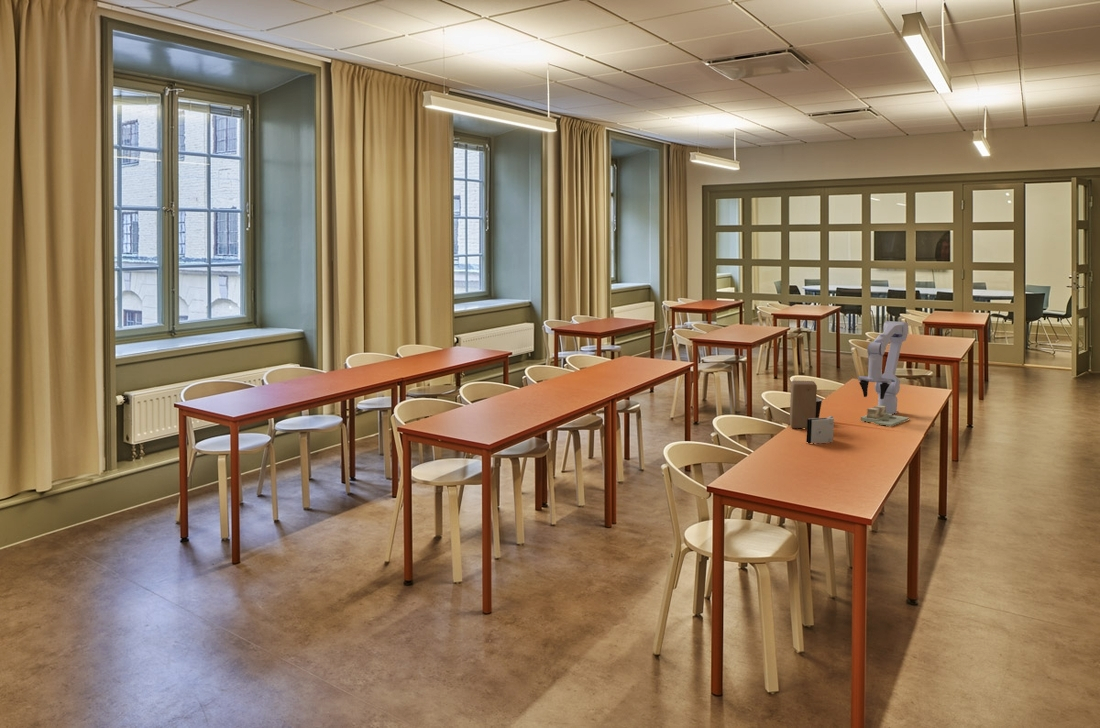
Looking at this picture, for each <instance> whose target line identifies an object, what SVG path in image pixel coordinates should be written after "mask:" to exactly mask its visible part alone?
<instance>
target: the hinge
mask: <svg viewBox="0 0 1100 728" xmlns="http://www.w3.org/2000/svg"><path fill="white" fill-rule="evenodd" d="M834 421H835V418H834V416H833V415H829V416H828V417H819V418H811V419H807V429H806V438H805V439H806V442H808V443H828V442H834V441H833V440H834V427H835V426H834V424H835V422H834ZM828 444H829V443H828Z"/></svg>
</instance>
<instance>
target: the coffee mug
mask: <svg viewBox="0 0 1100 728" xmlns="http://www.w3.org/2000/svg"><path fill="white" fill-rule="evenodd" d="M822 403H823V401H822V399H821V398H817V397H816V418H820V414H821V407H822Z"/></svg>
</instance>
